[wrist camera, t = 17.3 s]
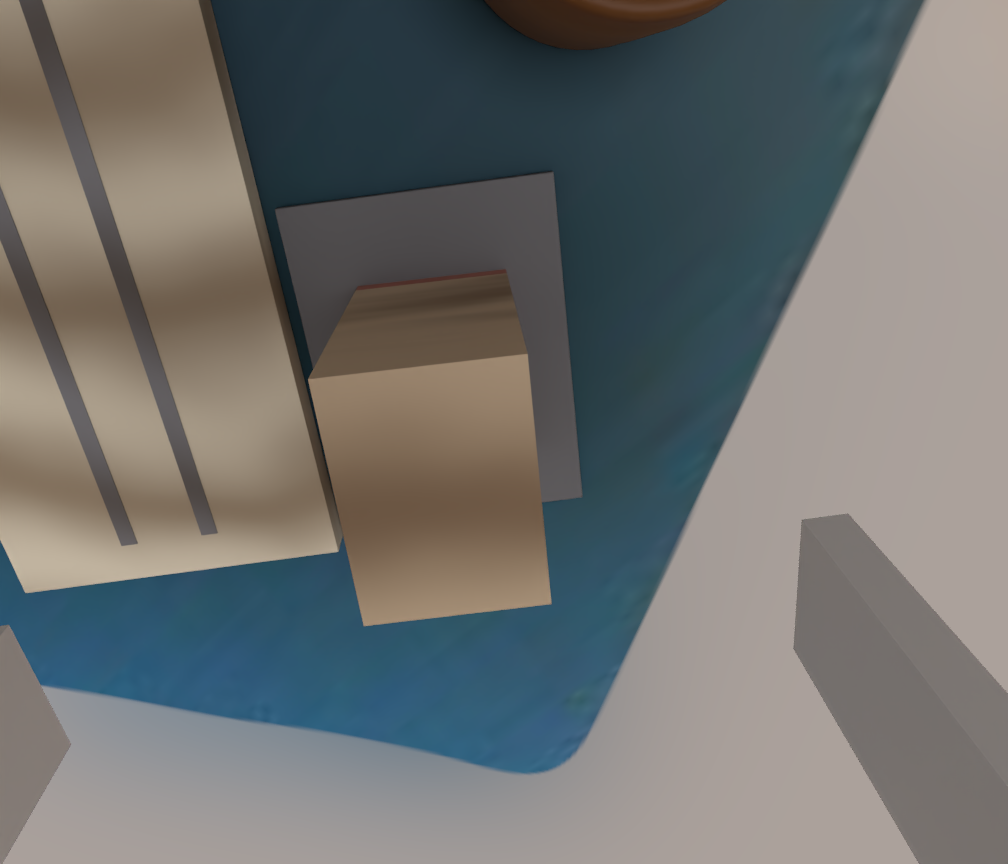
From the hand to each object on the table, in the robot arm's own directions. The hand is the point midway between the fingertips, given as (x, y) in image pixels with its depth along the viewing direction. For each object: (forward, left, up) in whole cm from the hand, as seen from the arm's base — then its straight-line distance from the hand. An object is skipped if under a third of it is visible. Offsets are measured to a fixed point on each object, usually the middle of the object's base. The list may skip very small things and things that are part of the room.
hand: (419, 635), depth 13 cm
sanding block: (+1, 0, -15) cm, 15 cm away
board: (-4, -11, -15) cm, 19 cm away
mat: (0, 0, -15) cm, 15 cm away
